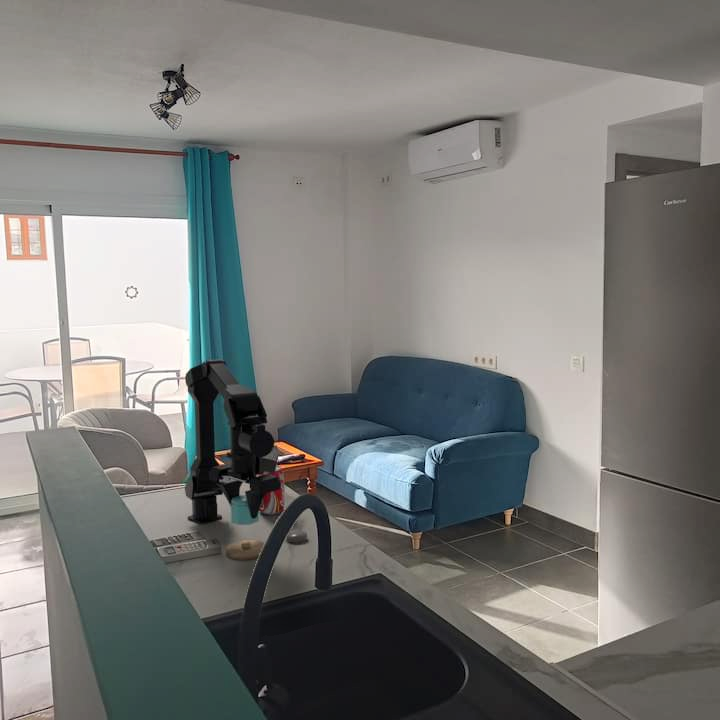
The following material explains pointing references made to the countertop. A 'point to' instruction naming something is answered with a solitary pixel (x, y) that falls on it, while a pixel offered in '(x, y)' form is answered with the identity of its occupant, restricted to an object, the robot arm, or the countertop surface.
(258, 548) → the round walnut base
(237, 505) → the teal plastic cap
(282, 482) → the soda can
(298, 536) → the gray disc
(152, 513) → the countertop surface
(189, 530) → the countertop surface
